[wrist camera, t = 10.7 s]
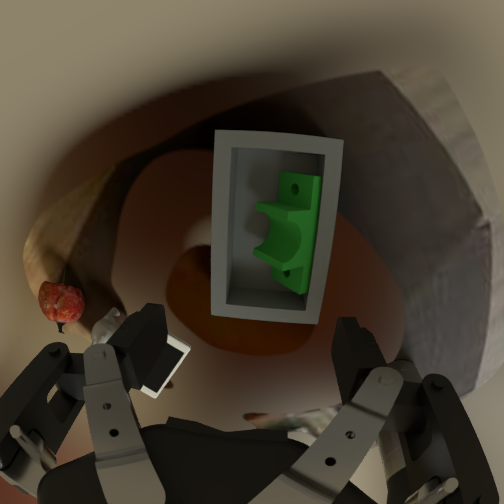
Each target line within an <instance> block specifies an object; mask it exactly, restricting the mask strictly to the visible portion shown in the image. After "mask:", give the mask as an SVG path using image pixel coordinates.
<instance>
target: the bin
mask: <svg viewBox="0 0 504 504" xmlns="http://www.w3.org/2000/svg"><path fill="white" fill-rule="evenodd" d="M343 141H344V140H340V139H333V138H325V137H318V136H309V135H300V134H290V133H278V132H263V131H242V130H215V143H214V163H213V189H212V226H211V315H216V316H225V317H234V318H243V319H254V320H265V321H276V322H290V323H305V324H318V320H319V315H320V310H321V305H322V300H323V295H324V290H325V284H326V279H327V273H328V267H329V261H330V255H331V249H332V242H333V235H334V228H335V220H336V213H337V205H338V196H339V187H340V177H341V167H342V155H343ZM280 171H285V172H295V173H302V174H308V175H315V176H321V177H322V187H321V197H320V206H319V215H318V223H317V232H316V239H315V247H314V254H313V261H312V268H311V275H310V281H309V287H308V292H306V293H303V294H300V295H299V294H298V293H296V292H294V291H293V290H291V289H289V288H288V287H286V286H285V285H283V284H281V283H280V282H278V281H276V280H275V279H273V278H271V276H272V265H270V264H268V263H266V262H265V261H263V260H261V259H259V258H257V257H256V256H254V255H253V248H254V247H257V246H259V245H261V244H262V243H263V242H264V241H265V240H266V238H267V236H268V234H269V231H270V221H269V218H268V216H267V215H266V213H264V212H261V211H258V210H256V202H270V201H278V195H279V182H280Z"/></svg>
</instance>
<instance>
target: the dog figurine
mask: <svg viewBox="0 0 504 504" xmlns="http://www.w3.org/2000/svg"><path fill="white" fill-rule="evenodd" d="M119 315H120V312H119V311H118V309H116V308H115V307H113V308H112V309H111V310H110V312H109V313H108V314H107V315H106V316H105V317H103V318H102V319H101V320H99V321H97V322H96V323H95V325H94V326H93V329H92V333H91V338H92V344H91V346H92V345H94V344H99V343H106V342H107V341H108V339H109V338H110V337H111V336H112V335H113V334H114V332H115V331H116V330H117V329H118V328H119V327H120V325H119V324H118V323H117V322H116V320H115V318H114V317H115V316H119Z"/></svg>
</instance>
